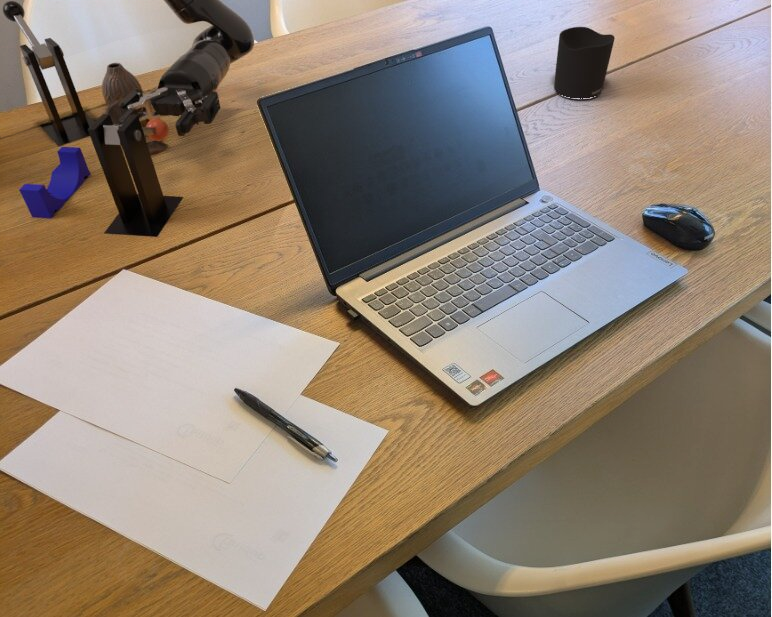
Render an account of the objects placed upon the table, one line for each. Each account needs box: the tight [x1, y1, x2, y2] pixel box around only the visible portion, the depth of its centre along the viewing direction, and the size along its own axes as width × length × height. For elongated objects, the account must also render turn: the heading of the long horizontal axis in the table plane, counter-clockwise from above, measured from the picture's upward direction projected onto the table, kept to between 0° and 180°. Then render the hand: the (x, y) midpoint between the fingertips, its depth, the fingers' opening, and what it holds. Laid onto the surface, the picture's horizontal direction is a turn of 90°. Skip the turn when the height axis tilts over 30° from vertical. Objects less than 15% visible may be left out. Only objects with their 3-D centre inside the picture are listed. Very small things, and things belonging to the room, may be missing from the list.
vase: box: [101, 62, 144, 108], centre depth 120 cm, size 7×7×9 cm
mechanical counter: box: [104, 98, 168, 156], centre depth 110 cm, size 7×13×10 cm
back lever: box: [2, 0, 55, 71], centre depth 108 cm, size 14×3×3 cm, turn 38°
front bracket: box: [88, 113, 184, 238], centre depth 91 cm, size 10×8×16 cm
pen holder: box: [553, 26, 616, 99], centre depth 119 cm, size 9×9×10 cm
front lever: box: [103, 118, 169, 146], centre depth 92 cm, size 14×3×3 cm, turn 172°
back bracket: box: [19, 37, 95, 148], centre depth 111 cm, size 10×8×16 cm
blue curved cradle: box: [18, 146, 91, 220], centre depth 99 cm, size 12×4×6 cm, turn 171°
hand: (151, 129), depth 96 cm, fingers open, 8 cm apart
